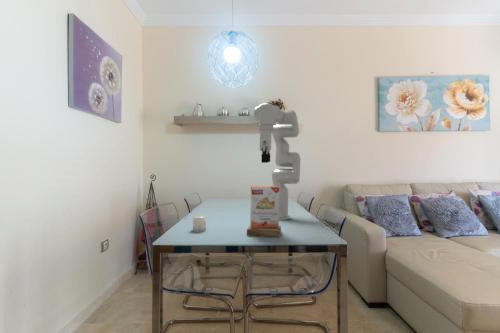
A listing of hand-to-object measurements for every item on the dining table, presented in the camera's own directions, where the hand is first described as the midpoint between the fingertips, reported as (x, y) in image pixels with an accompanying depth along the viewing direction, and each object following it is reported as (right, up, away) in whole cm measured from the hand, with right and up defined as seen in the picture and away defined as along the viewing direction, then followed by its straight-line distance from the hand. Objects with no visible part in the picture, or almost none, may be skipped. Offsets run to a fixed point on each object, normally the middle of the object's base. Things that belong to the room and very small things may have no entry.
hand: (266, 162), depth 154 cm
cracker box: (-1, -33, 0) cm, 33 cm away
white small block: (-35, -36, +7) cm, 51 cm away
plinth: (-1, -36, -1) cm, 36 cm away
